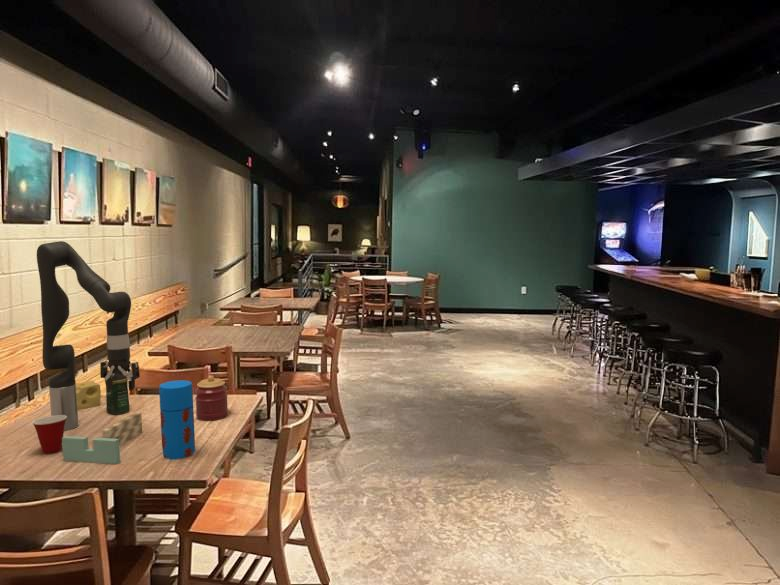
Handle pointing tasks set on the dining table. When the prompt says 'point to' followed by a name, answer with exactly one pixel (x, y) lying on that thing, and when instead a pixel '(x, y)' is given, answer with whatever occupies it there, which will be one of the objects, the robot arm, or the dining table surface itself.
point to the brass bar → (125, 428)
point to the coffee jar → (118, 395)
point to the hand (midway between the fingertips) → (120, 389)
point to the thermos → (177, 419)
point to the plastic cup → (50, 432)
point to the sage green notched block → (91, 450)
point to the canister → (211, 399)
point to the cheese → (88, 395)
